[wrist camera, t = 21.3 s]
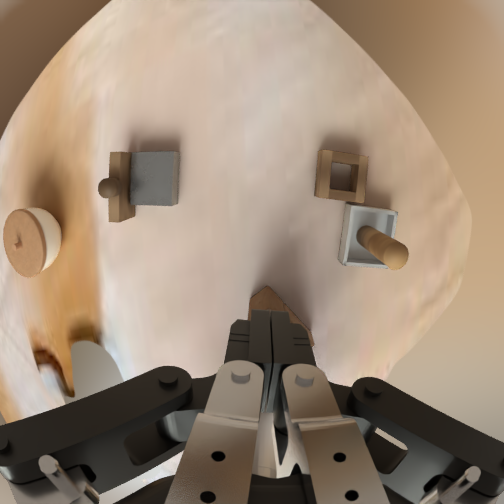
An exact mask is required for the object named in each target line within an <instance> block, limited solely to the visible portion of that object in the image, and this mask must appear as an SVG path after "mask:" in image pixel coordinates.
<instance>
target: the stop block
mask: <svg viewBox="0 0 504 504" xmlns="http://www.w3.org/2000/svg"><path fill="white" fill-rule="evenodd" d="M131 158H132V153H128V152H110V164H109V178H106V179H103V180H102V181H101V182H100V183H99V186H98V191H99V194H100V195H101V196H102V197H103V198H109V222H122V221H124V220H127V219H129V218H132V217H134V216H135V205H130V185H131Z"/></svg>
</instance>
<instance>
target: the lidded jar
mask: <svg viewBox="0 0 504 504" xmlns="http://www.w3.org/2000/svg"><path fill="white" fill-rule="evenodd" d="M3 240H4V247H5V251H6V254H7V257H8V259H9V261H10V263H11V265H12V266H13V268H14V269H15V270H16V271H17V272H18V273H19V274H20V275H22V276H24V277H28V278H31V277H34V276H36V275H37V274H39V273H40V272H41V271H43V270H45V269H46V268H47V267H49V266H50V265H51V264H52V263H53V262H54V260H55V259H56V257H57V255H58V253H59V250H60V247H61V240H62V232H61V228H60V225H59V223H58V222H57V220H56V219H55V218H54V217H53V216H52V215H51V214H50V213H49V212H48V211H46V210H44V209H41V208H25V209H18V210H15V211H13V212H12V213H11V214H10V215H9V216H8V218H7V220H6V222H5V226H4V233H3Z"/></svg>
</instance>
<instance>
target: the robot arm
mask: <svg viewBox="0 0 504 504" xmlns="http://www.w3.org/2000/svg"><path fill="white" fill-rule="evenodd" d="M265 404H266V407H265ZM377 427H378V428H379V429H381V430H382V431H384V432H386V433H387V434H389V435H391V436H392V437H394V438H396V439H397V440H399V441H401V442H402V443H404V444H405V445H406V446H407V448H408V450H403V449H401V448H399V447H398V446H396V445H394V444H393V443H391V442H389V441H388V440H386V439H385V438H383V437H381V436H380V435H378V434H377V433H375V430H376V429H377ZM183 450H184V452H183V455H182V457H181V460H180V463H179V466H178V468H177V471H176V474H175V475H172V476H167V477H164V478H161V479H158V480H156V481H154V482H152V483H150V484H148V485H146V486H145V487H143V488H141V489H139V490H138V491H136V492H134V493H132V494H130V495H129V496H127V497H125V498H123V499H121V500H119V501H118V502H115V503H113V504H496V501H497V499H498V496H499V495H500V494H501V493H502V492H503V491H504V443H503V442H501V441H499V440H496V439H495V438H492V437H490V436H488V435H486V434H484V433H482V432H480V431H478V430H475V429H474V428H472V427H470V426H468V425H465V424H464V423H462V422H460V421H457V420H455V419H454V418H452V417H450V416H447V415H446V414H444V413H442V412H440V411H438V410H436V409H434V408H432V407H431V406H429V405H427V404H425V403H423V402H421V401H419V400H417V399H415V398H414V397H412V396H410V395H408V394H406V393H405V392H403V391H401V390H399V389H397V388H396V387H394V386H392V385H390V384H388V383H387V382H385V381H383V380H381V379H378V378H374V377H364V378H360V379H358V380H356V381H355V382H354V384H353V385H352V387H348V386H343V385H338V384H334V383H331V382H329V381H328V380H327V377H326V375H325V373H324V372H323V371H322V370H320V369H319V368H317V366H316V362H315V359H314V355H313V351H312V347H311V343H310V340H309V336H308V332H307V330H306V329H305V328H304V327H303V326H302V325H301V324H296V323H290V317H289V312H288V311H275V310H271V311H270V313H269V310H261V309H252V310H251V321H250V320H237V321H236V322H234V323H233V324H232V325H231V329H230V335H229V340H228V345H227V350H226V355H225V361H224V364H223V365H222V366H221V367H220V368H219V370H218V372H217V373H216V374H214V375H212V376H209V377H204V378H195V379H192V378H191V376H190V374H189V373H188V372H187V371H185V370H184V369H182V368H179V367H175V366H162V367H158V368H155V369H153V370H151V371H148V372H146V373H144V374H141V375H139V376H137V377H134V378H132V379H130V380H127V381H125V382H123V383H120V384H118V385H115V386H113V387H110V388H108V389H106V390H103V391H101V392H98V393H95V394H93V395H90V396H88V397H85V398H82V399H80V400H77V401H74V402H72V403H69V404H66V405H63V406H61V407H58V408H55V409H52V410H49V411H46V412H43V413H40V414H37V415H34V416H31V417H28V418H25V419H22V420H18V421H15V422H12V423H8V424H5V425H2V426H0V473H1V474H2V476H3V477H4V478H5V479H6V480H7V481H8V483H9V485H10V488H11V490H12V493H13V495H14V498H15V500H16V502H17V504H99V495H100V494H102V493H104V492H106V491H109V490H111V489H113V488H115V487H117V486H119V485H121V484H123V483H126V482H128V481H130V480H132V479H134V478H135V477H137V476H139V475H141V474H143V473H145V472H147V471H148V470H151V469H152V468H154V467H156V466H158V465H160V464H161V463H163V462H165V461H167V460H168V459H170V458H172V457H173V456H175V455H177V454H178V453H180V452H182V451H183Z"/></svg>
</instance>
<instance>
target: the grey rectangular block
mask: <svg viewBox="0 0 504 504" xmlns="http://www.w3.org/2000/svg"><path fill="white" fill-rule="evenodd" d="M179 161H180V153H179V152H175V151H159V152H133V153H132V158H131V185H130V205H157V206H173V205H176V204H178V182H179Z"/></svg>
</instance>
